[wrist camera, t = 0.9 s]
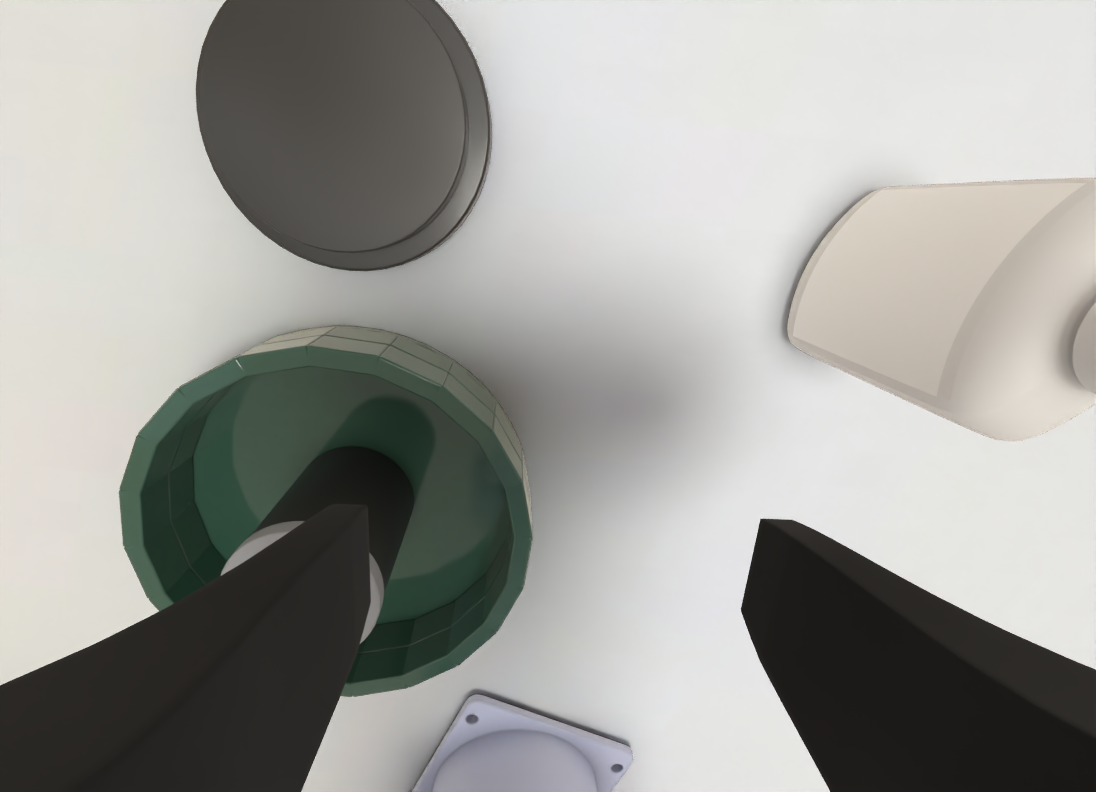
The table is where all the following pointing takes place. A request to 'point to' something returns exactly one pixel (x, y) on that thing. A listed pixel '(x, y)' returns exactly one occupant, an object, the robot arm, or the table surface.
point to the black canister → (344, 482)
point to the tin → (317, 427)
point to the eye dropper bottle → (962, 300)
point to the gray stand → (345, 125)
